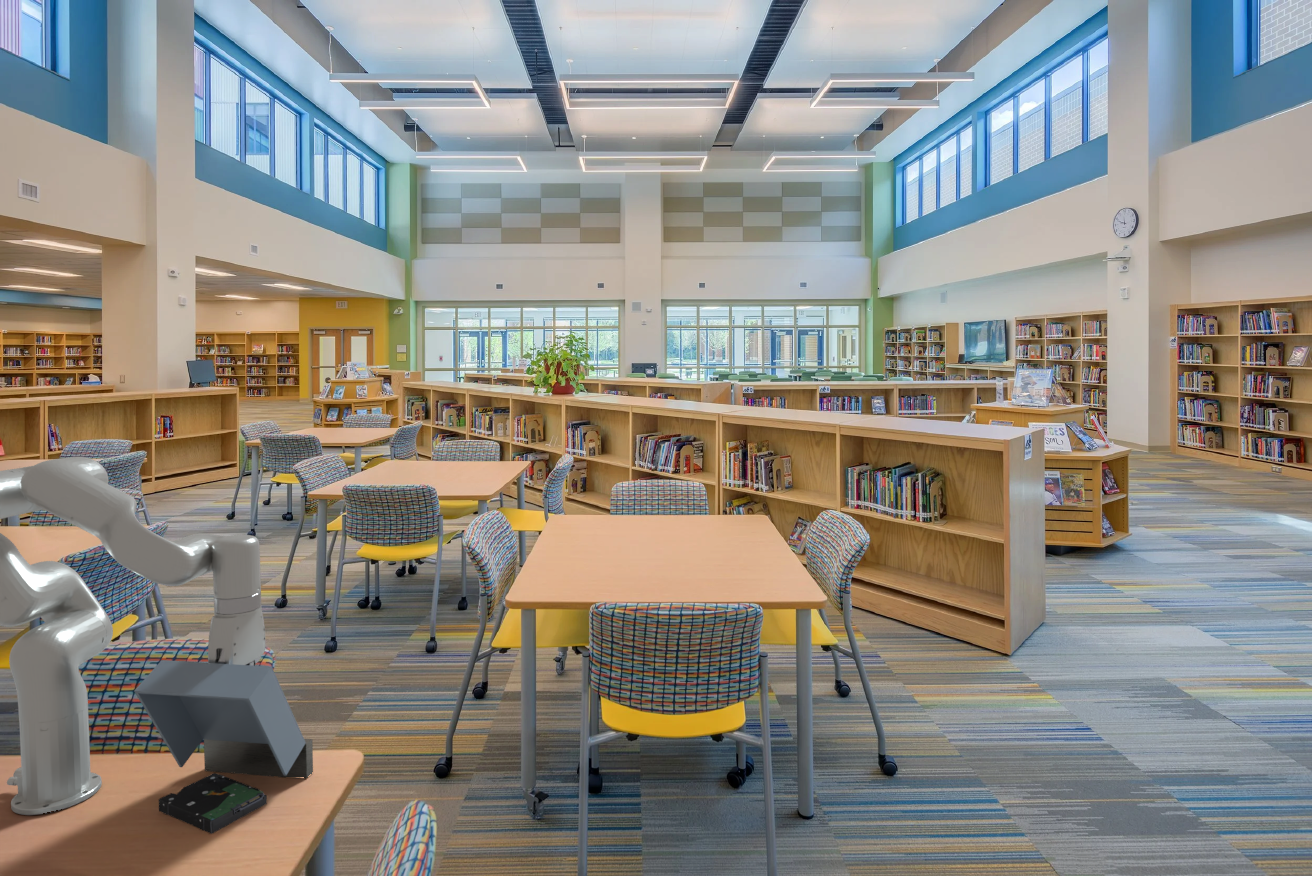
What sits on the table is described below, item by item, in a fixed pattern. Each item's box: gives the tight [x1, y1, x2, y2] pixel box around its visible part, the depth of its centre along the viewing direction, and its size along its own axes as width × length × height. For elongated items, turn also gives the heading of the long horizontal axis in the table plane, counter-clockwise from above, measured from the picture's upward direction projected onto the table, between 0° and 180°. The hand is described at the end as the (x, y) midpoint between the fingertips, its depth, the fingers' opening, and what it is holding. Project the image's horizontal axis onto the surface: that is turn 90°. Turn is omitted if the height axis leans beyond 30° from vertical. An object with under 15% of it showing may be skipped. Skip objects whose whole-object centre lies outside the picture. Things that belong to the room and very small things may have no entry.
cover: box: [133, 659, 306, 775], centre depth 131 cm, size 21×20×7 cm
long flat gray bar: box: [203, 738, 314, 778], centre depth 140 cm, size 21×2×7 cm, turn 83°
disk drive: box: [158, 772, 268, 834], centre depth 129 cm, size 10×3×15 cm
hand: (240, 701), depth 135 cm, fingers closed
